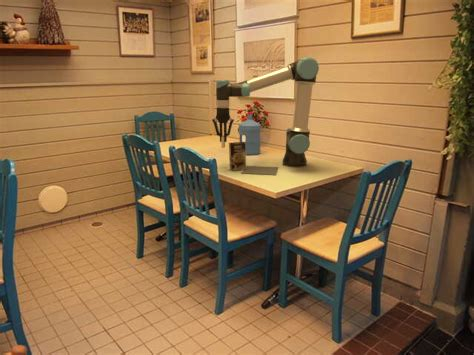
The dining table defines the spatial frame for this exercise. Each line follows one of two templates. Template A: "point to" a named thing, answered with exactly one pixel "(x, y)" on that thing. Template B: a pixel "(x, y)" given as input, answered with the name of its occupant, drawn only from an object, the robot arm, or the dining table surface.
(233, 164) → the coffee box
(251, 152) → the water jug
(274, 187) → the dining table surface
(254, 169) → the mat
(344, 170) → the dining table surface
